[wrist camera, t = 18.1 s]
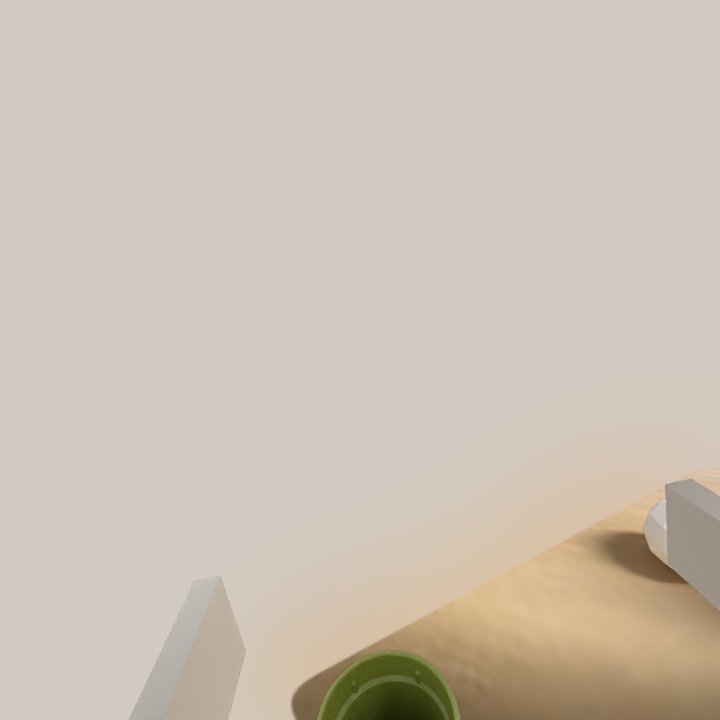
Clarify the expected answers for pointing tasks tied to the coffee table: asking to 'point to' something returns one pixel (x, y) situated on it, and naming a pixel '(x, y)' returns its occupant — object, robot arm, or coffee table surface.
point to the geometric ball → (657, 531)
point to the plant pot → (390, 690)
